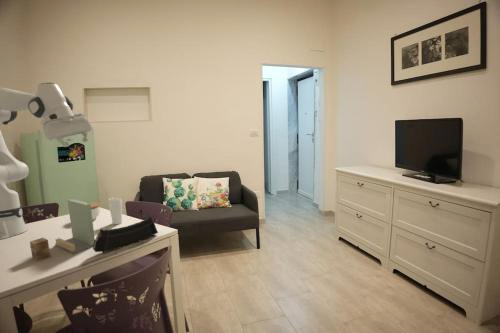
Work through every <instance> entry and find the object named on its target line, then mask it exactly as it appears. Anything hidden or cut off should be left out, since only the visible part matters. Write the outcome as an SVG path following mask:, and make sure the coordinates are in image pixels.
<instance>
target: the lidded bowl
mask: <svg viewBox="0 0 500 333" xmlns="http://www.w3.org/2000/svg"><path fill="white" fill-rule="evenodd" d="M86 203H89V204H90V205H91V213H92V221H95V220H96V219H97V218H98V217H99V215H100V211H101V208H100V207H101V205H100V203H99V202H89V201H87V202H86Z"/></svg>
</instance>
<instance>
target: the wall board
mask: <svg viewBox="0 0 500 333" xmlns="http://www.w3.org/2000/svg"><path fill="white" fill-rule="evenodd" d="M89 203H90V202H89ZM89 203H87V202H85V201H82V200H78V199H72V198H71V199H67V204H68V212H69V213H68V214H69V220H70V229H71V234H72V236H71V237H70V238H68V239H65V240H64V239H62V238H60V237H57V238H55V244H54V245H55V246H56V247H57V248H60V249H62V250H65V251H67V252H69V253H71V254H73V255H75V254H77V253H79V252H82V251H85V250H87V249H89V248H90V249H91V248H93V245H94V240H95V239H96V238H95V231H94V224H93V223H94V222H93V221H94V220H92V213H91V205H90V204H89Z"/></svg>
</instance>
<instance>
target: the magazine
mask: <svg viewBox="0 0 500 333" xmlns="http://www.w3.org/2000/svg"><path fill="white" fill-rule="evenodd" d="M156 234H159V232H158V230H157V227H156V224H155V222H154V220H153V217H151V216H148V217H147V218H145V219H143V220H142V221H141V220H140V221H139V222H136V223H135V222H134V223H133V224H130V225H126V226H123V227H118V228H111V229H103V228H102V229H100V230H99V231H98V232H97V234H96V238H95V240H94V245H93V247H92V251H94V252H95V253H98V252H99V253H101V252H102V254H105V252H109V251H112V250H113V251H114V250H118V249H121V248H125V247H128V246H131V245H134V244H137V243H140V242H141V241H144V240H146V239H148V238H150V237H152V236H154V235H156Z"/></svg>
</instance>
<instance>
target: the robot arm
mask: <svg viewBox="0 0 500 333" xmlns="http://www.w3.org/2000/svg"><path fill="white" fill-rule="evenodd" d="M73 104H74V103H73V102H72V101H71V99H70V98H68V97H67V96H66V95H64V93H63V91H62V89H61V88H60V86H59V85H58V84H57V83H55V82H44V83H40V84H37V85H36V94H34V93H29V92H24V91H20V90H15V89H12V88H7V87H2V86H1V87H0V126H1V125H2V124H3V125H5V126H7V125H8V124H9V123H11V122H13V121H14V120H16V118H17V117H18V111H19V112H21V111H28V110H29V112H30V113H31V114H32V116H34V117H36V118H37V119H41V121H40V124H41V125H42V131H43V135H44V136H45V138H46V139H47V140H49V141H53V140H57V142H59V143H60V144H62V147H63V148H67V147H69V145H70V144H69V143H68V141H64V140H63V138H66V137H71V136H77V135H82V136H83V138H82V139H81V140H82V142H83V143H87V142H88V141H89V139H88V133H89V132H91V131H92V130H93V126H92V124H91V123H90V121H89V119H88V118H87V116H86V115H85V114H83V113H76V114H74V113H73V109H74V105H73ZM29 173H30V169H29V166H28V165H27V164H26V163H25V162H23V161H20V160H19V159H17V158H16V157H14V156H13V154H12V153H11V152H10V150H9V149H8V146H7V144H6V142H5V138H4V136H3V133H2V131H1V129H0V240H4V239H7V238H10V237H13V236H17V235H20V234H22V233H25V232H26V231H28V227H27V225H26V223H25V219H24V217H23V216H24V215H23V208H22V205H21V202H20V196H19V193H18V192H17V191H16V190H13V189H9V188H8V187H7V185H6V184H8V183H13V182H18V181H21V180H23V179H25V178H27V177H28V175H29Z"/></svg>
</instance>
